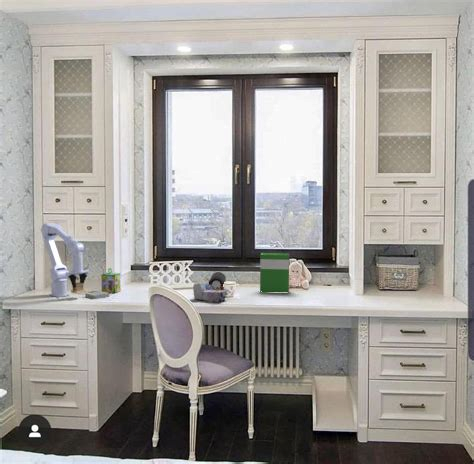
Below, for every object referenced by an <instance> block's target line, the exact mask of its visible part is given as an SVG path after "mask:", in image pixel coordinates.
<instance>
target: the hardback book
mask: <svg viewBox="0 0 474 464" xmlns="http://www.w3.org/2000/svg"><path fill="white" fill-rule="evenodd" d="M259 259H260V261H259V263H260V264H259V265H260V266H259V267H260V268H259V270H260V273H259V274H260V275H259V277H260V278H259V279H260V280H259V293H260V292H261V291H262V292H288V293H290V253H277V252H276V253H275V252H273V253H272V252H261V253H260V257H259Z"/></svg>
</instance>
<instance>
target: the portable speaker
mask: <svg viewBox="0 0 474 464" xmlns="http://www.w3.org/2000/svg"><path fill="white" fill-rule="evenodd" d="M225 281H227V278H226V275H225V274H224V273H222V272H221V271H216V272H214V273H213V274H212V275H211V276H210V279H209V281H208V282H207V283H208V285H212V286H213V287H214V288H215V289H216V287H218V288H219V289H221V286H223V284H224V282H225ZM225 283H226V282H225Z"/></svg>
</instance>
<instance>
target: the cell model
mask: <svg viewBox="0 0 474 464" xmlns="http://www.w3.org/2000/svg"><path fill="white" fill-rule="evenodd" d="M208 283H209V282H207V281H199V282H196V283H194V284H193V287H192V289H193V297H194V300H199V301H202V300H203V302H207V301H215V302H214V303H219V301H221V302H223V301H224V300H225V299H226V298H227V299H228V297H227V295H229V293H228V292H229V291H230V290H229V289H227V288H225V286H224V287H223V286H221V289H219V288H218V287H216V289H215V288H214V287H213V286H212V285H208ZM222 300H223V301H222Z"/></svg>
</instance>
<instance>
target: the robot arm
mask: <svg viewBox="0 0 474 464" xmlns="http://www.w3.org/2000/svg"><path fill="white" fill-rule="evenodd" d="M40 232H41V234H42V238H43V241H44V244H45V245H44V246H45V247H46V250H47V253H48V256H49V260H50V262H51V265H52V267H51V268H50V270H49V271H50V278H51V281H52V282H51V289H50V291H51V292H50V294H49V296H53V297H57V298H59V297H60V298H61V297H67V296H70V294H68V293H67V292H68V289H67V287H68V286H67V285H68V282H67V281H68V279H69V280H70V283H71V287H72V289H73V288H75V287H76V283H77V282H76V281H77V275H78V276H79V283H83V285H84V283H85V281H86V278H87V277H88V274H89V275H90V270H89V269H85V270H84V269H83V267H84V265H83V263H84V262H83V259H84V258H83V257H84V256H83V253H84V252H85V250H86V248H85V244H84V243H83V242H79V241H78V240H76V239H75V237H74V236H73V235H68V234H67V233H66V232H65V230H63V228H62V225H61V224H60V223H58V222H53V223H46V222H45V223H42V226H41V229H40ZM57 236H58V237H59V238H61V239H62V240H63V243H64V244H65V246H67V247H68V248H69V250H70V252H71V253H70V254H71V257H72V258H71V259H72V270H71V271H69V270H68V268H67V265H65V264H63V263H62V260H61V256H60V255H59V251H58V248H57V245H56V242H55V239H56V238H57Z"/></svg>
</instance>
